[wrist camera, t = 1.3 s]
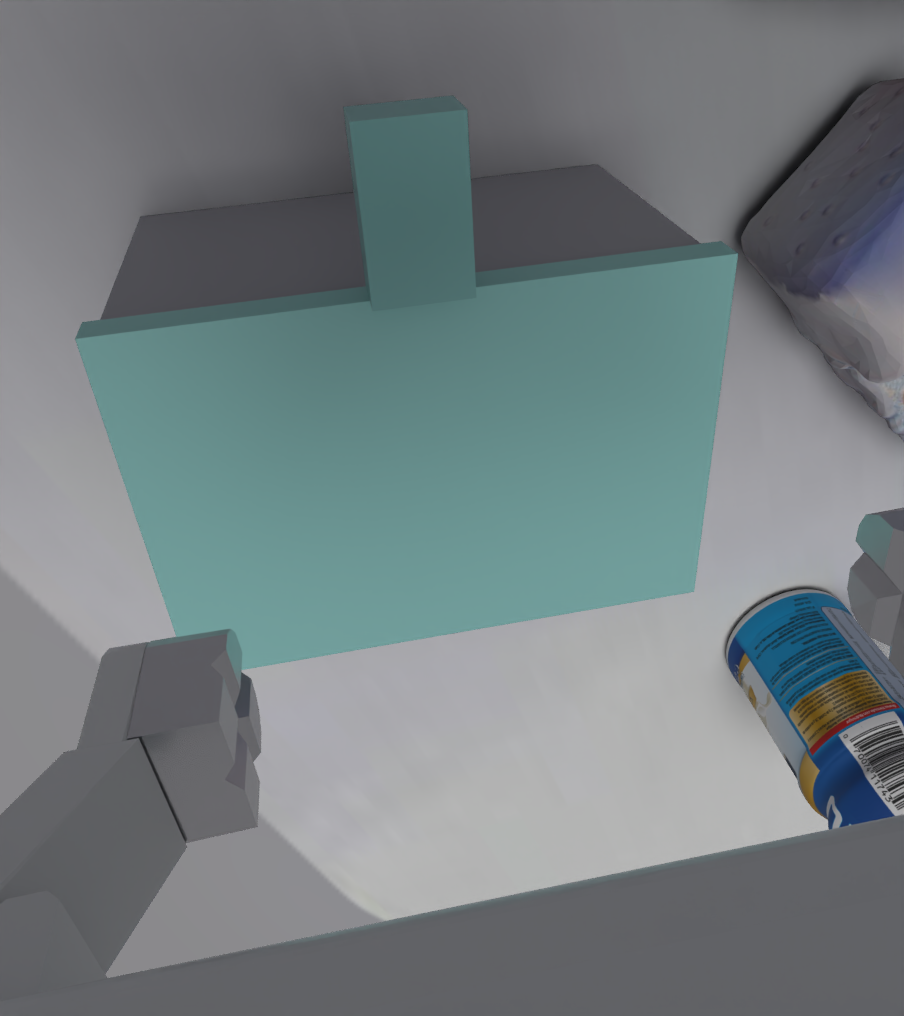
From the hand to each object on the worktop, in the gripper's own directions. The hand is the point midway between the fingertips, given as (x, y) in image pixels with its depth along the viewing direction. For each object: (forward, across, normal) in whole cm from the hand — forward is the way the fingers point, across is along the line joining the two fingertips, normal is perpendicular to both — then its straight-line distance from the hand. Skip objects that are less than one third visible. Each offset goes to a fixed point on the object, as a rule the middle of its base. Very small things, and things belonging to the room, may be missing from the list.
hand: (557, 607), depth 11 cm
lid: (+17, 0, +6) cm, 18 cm away
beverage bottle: (+30, -22, +33) cm, 50 cm away
